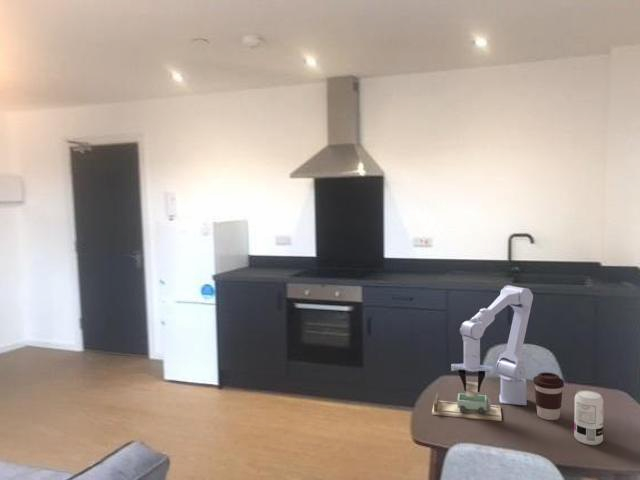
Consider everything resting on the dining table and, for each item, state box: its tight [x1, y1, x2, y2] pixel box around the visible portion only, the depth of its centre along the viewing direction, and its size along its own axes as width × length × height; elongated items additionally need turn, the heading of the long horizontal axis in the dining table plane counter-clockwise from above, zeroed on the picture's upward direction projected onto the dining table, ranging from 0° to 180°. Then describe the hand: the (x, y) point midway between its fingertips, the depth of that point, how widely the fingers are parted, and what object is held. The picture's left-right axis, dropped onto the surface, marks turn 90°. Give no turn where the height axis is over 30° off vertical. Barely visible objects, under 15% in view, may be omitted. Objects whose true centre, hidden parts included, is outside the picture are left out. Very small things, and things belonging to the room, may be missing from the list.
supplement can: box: [573, 389, 604, 446], centre depth 167 cm, size 8×8×15 cm
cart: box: [457, 392, 491, 414], centre depth 191 cm, size 11×9×4 cm
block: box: [465, 381, 479, 397], centre depth 191 cm, size 4×4×4 cm
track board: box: [431, 392, 502, 422], centre depth 192 cm, size 24×11×4 cm, turn 73°
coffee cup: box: [532, 372, 565, 421], centre depth 185 cm, size 10×10×15 cm
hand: (471, 390), depth 191 cm, fingers closed on block, 4 cm apart
